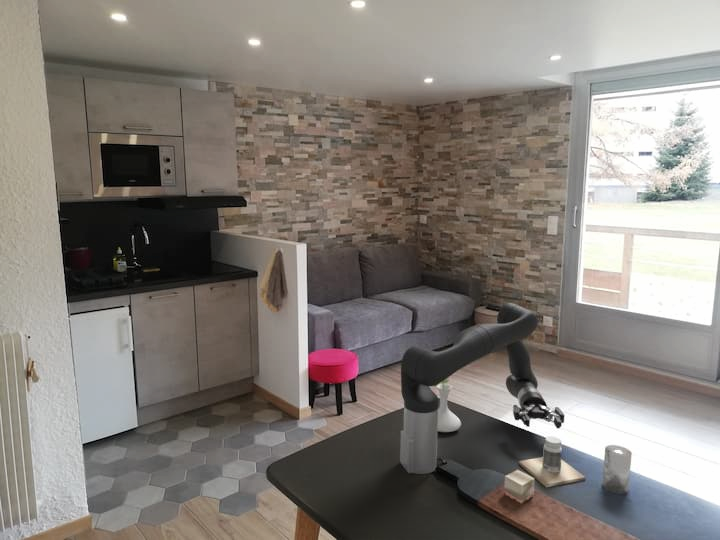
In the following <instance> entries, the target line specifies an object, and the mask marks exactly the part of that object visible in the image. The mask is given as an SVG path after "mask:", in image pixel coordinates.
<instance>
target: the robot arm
mask: <svg viewBox="0 0 720 540" xmlns="http://www.w3.org/2000/svg"><path fill="white" fill-rule="evenodd" d="M496 316H497V317H496V322H497V323H479V324H475V325H472V326H470V327H468V328H465V329H463V330H462V331H460V332H459V333H458V334H457V335H456V337H455V339H454V340H453V345H452V346H451V347H449V348H446V349H444V350H441V351H435V350H431V349H428V348H424V347H422V346H418V345H415V346H414V345H413V346H410V347H409V348H408V349H407V350H405V352H404V353H403V356H402V359H401V362H400V364H401V365H400V387H401V388H400V390H401V396H402V398H403V399H402V400H403V430H400V446H399V448H400V449H399V450H400V451H399V453H400V454H399V463H400V464H401V466H402V467H403V469H404V470H405V471H406V472H407V474H417V475H427V474H430V473H432V472H434V471H436V469H437V461H438V460H437V459H438V458H437V455H438V453H437V452H438V432H439V431H438V409H439V397H438V395H437V394H436V393H435V391H433V390H432V389H431V387H436V386H435V385H437V384H442V381H444V380H445V379H447V378H448V377H449V378H450V377H452V375H453V374H455V373H456V372H458V371H459V370H462V369H464V367H466V366H468V365H470V364H472V363H473V362H476V361H478V360H480V359H482V358H484V357H487V356H488V355H490V354H491V353H493V352H495V351H497V350H499V349H501V348H503V347H505V349H506V353H507V358H508V364H509V365H508V366H509V372H510V374H509V375H508V376H507V377H506V379H505V387H506V389H507V391H508V392H509V394H510V395H512V397H514V398H516V399H517V400H518V404H519V406H520V407H519V406H518V405H517V404H513V408H512V414H513V417H514V421H520V420H521V422H522V423H523V425H525V427H528V428H529V427H530V423H531V422H530V421H531V419H533V420H536V419H540V420H544V421H546V422H548V423H549V422H551V423H553V424H554V426H555V428H556V429H561V428H562V424H564V423H565V414H564V412H563V411H562V410H561V408H560V407H558V406H555V407H554V409H553V408H552V409H551V408H550V407H548V405H547V402H546V400H545V399H544V397H543V395H542V394H541V392H540V391H538V386H539V384H538V380H537V377H536V375H535V374H534V372H533V370H532V366H531V365H532V363H531V356H530V352H529V351H528V349H527V347H526V345H525V344H524V342H523V340H524V339H527V338H528V337H530V336H531V335H532V334H533V333H534V332H535V330H536V329H537V328H538V323H539V321H538V316H537V314H536V313H534V312H533V311H531V310H529V309H528V308H525V307H523V306H520V305H518V304H516V303H513V302H507V303H505V304H503V305H502V306H501V307H500V309H499V311H498V313H497V315H496ZM553 417H554V418H553ZM435 468H436V469H435Z"/></svg>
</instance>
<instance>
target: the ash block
mask: <svg viewBox="0 0 720 540" xmlns="http://www.w3.org/2000/svg"><path fill="white" fill-rule="evenodd" d="M535 479H536V478H535V477H534V476H532V475H530V474H527V473H525V472H523V471H522V470H521V471H520V469H516V470H514V471H512V472H510V473H508V474H506V475H505V476H504V486H503V487H504V490H503V492H504V491H506V492H508V493H509V494H511V495H512V496H514V497H516V498H517V499H519V500H521V501H522V500H523V499H525V498H527V497H528V496H530V495H532V494H535V493H534V492H535V491H534V490H535Z"/></svg>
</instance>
